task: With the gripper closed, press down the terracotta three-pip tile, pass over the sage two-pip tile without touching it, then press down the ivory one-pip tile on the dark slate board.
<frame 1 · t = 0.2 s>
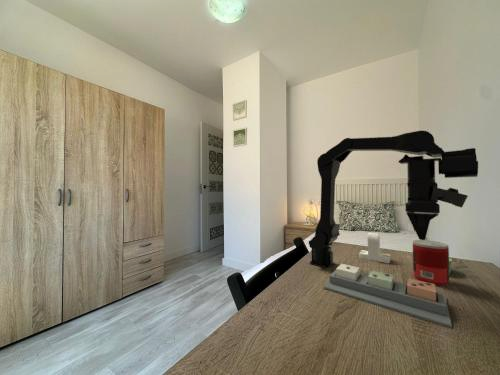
hand: (421, 236, 55), 14 cm above the table, fingers open, 9 cm apart
canned food: (430, 280, 60), on the table
tile 2: (381, 279, 53), point 3 cm above the table, slide at 0.0 cm
tile 3: (421, 289, 48), point 3 cm above the table, slide at 0.0 cm
ramekin: (433, 270, 68), on the table
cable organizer: (374, 259, 79), on the table
tile 1: (348, 271, 58), point 3 cm above the table, slide at 0.0 cm
board: (381, 292, 53), on the table
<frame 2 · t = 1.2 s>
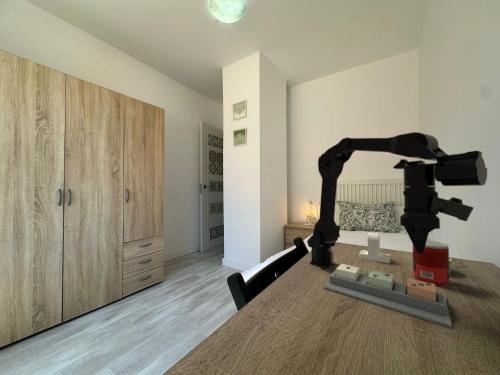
hand: (420, 252, 48), 12 cm above the table, fingers closed
nothing on the table moved.
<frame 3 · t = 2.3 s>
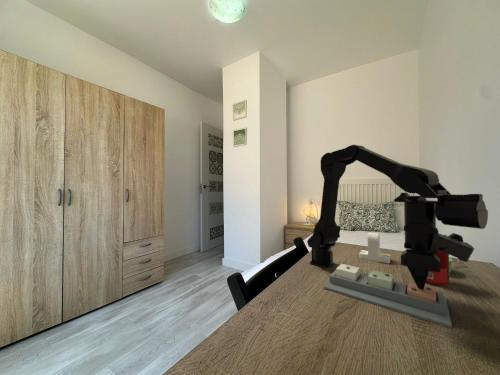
hand: (420, 288, 48), 4 cm above the table, fingers closed, pressing on tile 3
tile 3: (421, 293, 48), point 2 cm above the table, slide at 1.1 cm, touching gripper
everything else where it was.
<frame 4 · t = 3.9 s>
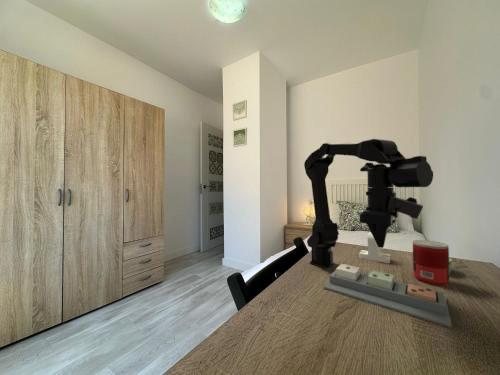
hand: (380, 247, 53), 12 cm above the table, fingers closed
tile 3: (421, 294, 48), point 2 cm above the table, slide at 1.3 cm
everything else where it was.
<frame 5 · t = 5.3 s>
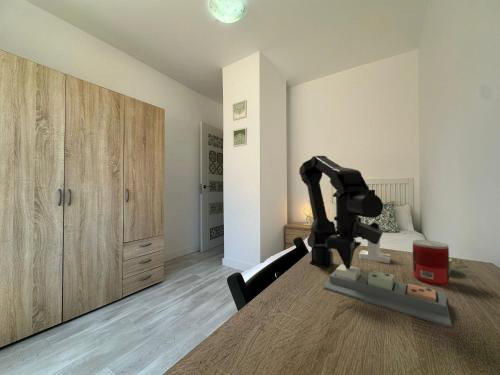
hand: (347, 267, 58), 5 cm above the table, fingers closed, pressing on tile 1
tile 1: (348, 272, 58), point 3 cm above the table, slide at 0.1 cm, touching gripper
everything else where it was.
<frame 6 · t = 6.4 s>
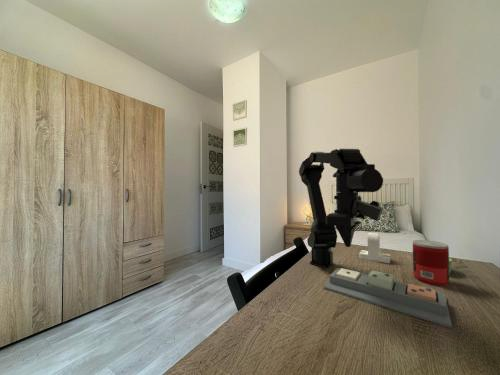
hand: (348, 246, 58), 11 cm above the table, fingers closed
tile 1: (348, 276, 58), point 2 cm above the table, slide at 1.4 cm
everything else where it was.
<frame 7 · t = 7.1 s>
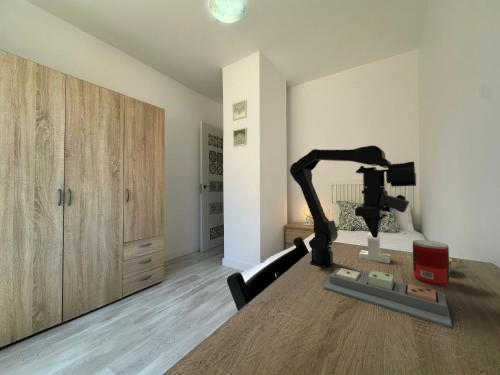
hand: (375, 237, 63), 12 cm above the table, fingers closed
nothing on the table moved.
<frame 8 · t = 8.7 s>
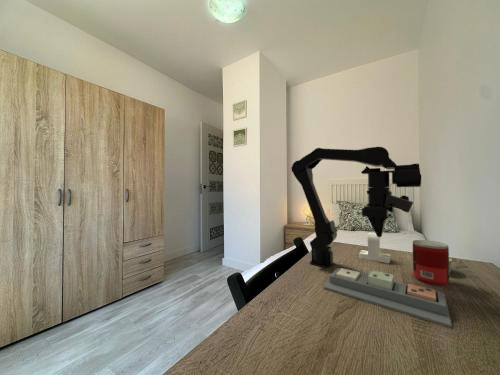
hand: (379, 236, 64), 12 cm above the table, fingers closed
nothing on the table moved.
at the end: tile 3 slide at 1.3 cm; tile 1 slide at 1.4 cm; tile 2 slide at 0.0 cm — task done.
